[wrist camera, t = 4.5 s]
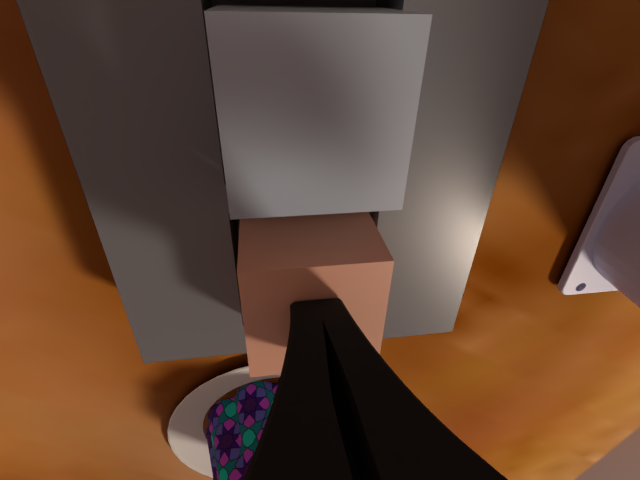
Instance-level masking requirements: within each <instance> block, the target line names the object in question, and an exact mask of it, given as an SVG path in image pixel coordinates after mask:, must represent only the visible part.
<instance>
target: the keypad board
mask: <svg viewBox="0 0 640 480" xmlns="http://www.w3.org/2000/svg"><path fill="white" fill-rule="evenodd" d="M16 1H17V4H18V7H19V10H20V13H21V16H22V18H23V21H24V24H25V27H26V30H27V33H28V35H29V38H30V41H31V44H32V47H33V50H34V52H35V55H36V58H37V61H38V64H39V67H40V70H41V72H42V75H43V78H44V81H45V84H46V87H47V89H48V92H49V95H50V98H51V101H52V104H53V106H54V109H55V112H56V115H57V118H58V121H59V124H60V126H61V129H62V132H63V135H64V138H65V141H66V143H67V146H68V149H69V152H70V155H71V158H72V160H73V163H74V166H75V169H76V172H77V175H78V178H79V180H80V183H81V186H82V189H83V192H84V195H85V197H86V200H87V203H88V206H89V209H90V212H91V214H92V217H93V220H94V223H95V226H96V229H97V232H98V234H99V237H100V240H101V243H102V246H103V249H104V251H105V254H106V257H107V260H108V263H109V266H110V268H111V271H112V274H113V277H114V280H115V283H116V286H117V288H118V291H119V294H120V297H121V300H122V303H123V305H124V308H125V311H126V314H127V317H128V320H129V322H130V325H131V328H132V331H133V334H134V337H135V340H136V342H137V345H138V348H139V351H140V354H141V357H142V359H143V362H144V363H151V362H161V361H170V360H180V359H190V358H199V357H209V356H219V355H229V354H238V353H247V348H246V340H245V332H244V325H243V317H242V309H241V301H240V293H239V285H238V277H237V262H238V243H239V224H240V219H232V220H230V214H229V206H228V198H227V190H226V182H225V174H224V166H223V158H222V150H221V142H220V134H219V126H218V118H217V111H216V103H215V95H214V87H213V79H212V71H211V63H210V55H209V47H208V39H207V31H206V23H205V15H204V11H205V10H207V9H209V8H212V7H214V6H216V5H267V6H326V7H383V8H390V9H397V10H405V11H412V12H419V13H427V14H432V21H431V27H430V34H429V40H428V46H427V53H426V59H425V66H424V72H423V79H422V85H421V92H420V98H419V105H418V111H417V118H416V124H415V130H414V137H413V143H412V150H411V156H410V163H409V169H408V176H407V182H406V189H405V195H404V202H403V208H402V210H391V211H373V212H369V214H370V216H371V217H372V219H373V221H374V223H375V225H376V227H377V229H378V231H379V233H380V235H381V237H382V238H383V240H384V242H385V244H386V246H387V248H388V250H389V252H390V254H391V256H392V257H393V259H394V266H393V273H392V279H391V286H390V292H389V298H388V305H387V311H386V318H385V324H384V331H383V337H382V339H384V338H394V337H403V336H413V335H423V334H433V333H442V332H452V330H453V326H454V323H455V320H456V316H457V313H458V309H459V306H460V303H461V299H462V296H463V292H464V289H465V286H466V282H467V279H468V275H469V272H470V269H471V265H472V262H473V258H474V255H475V252H476V248H477V245H478V241H479V238H480V234H481V231H482V228H483V224H484V221H485V217H486V214H487V211H488V207H489V204H490V200H491V197H492V194H493V190H494V187H495V183H496V180H497V177H498V173H499V170H500V166H501V163H502V160H503V156H504V153H505V149H506V146H507V142H508V139H509V136H510V132H511V129H512V125H513V122H514V119H515V115H516V112H517V108H518V105H519V102H520V98H521V95H522V91H523V88H524V85H525V81H526V78H527V74H528V71H529V67H530V64H531V61H532V57H533V54H534V50H535V47H536V44H537V40H538V37H539V33H540V30H541V27H542V23H543V20H544V16H545V13H546V10H547V6H548V3H549V0H16Z"/></svg>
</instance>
